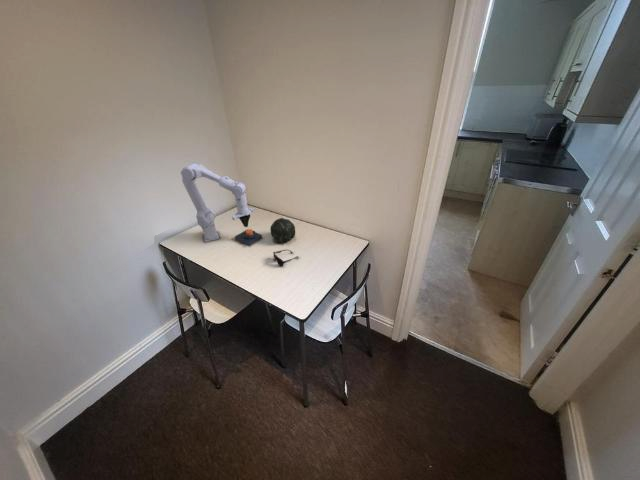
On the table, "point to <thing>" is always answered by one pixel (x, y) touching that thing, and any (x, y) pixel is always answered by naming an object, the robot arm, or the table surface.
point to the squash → (282, 230)
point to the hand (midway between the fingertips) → (245, 226)
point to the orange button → (249, 232)
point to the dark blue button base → (248, 238)
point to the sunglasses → (280, 259)
